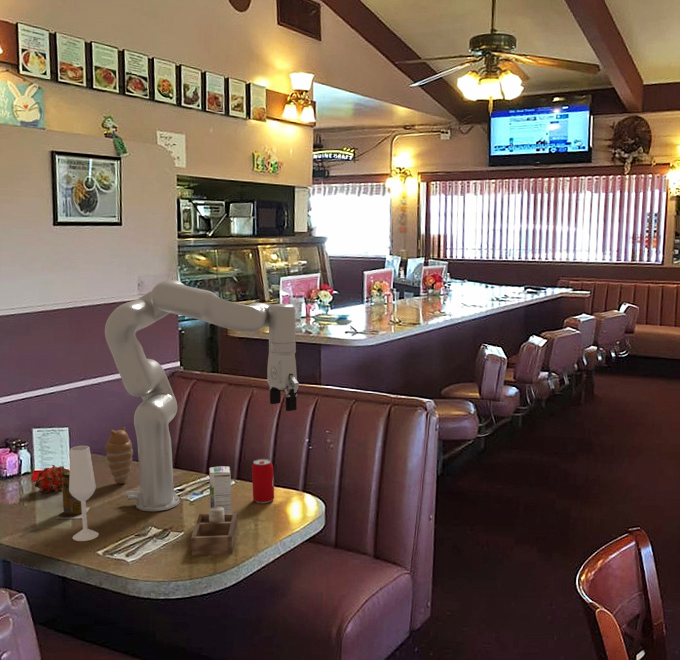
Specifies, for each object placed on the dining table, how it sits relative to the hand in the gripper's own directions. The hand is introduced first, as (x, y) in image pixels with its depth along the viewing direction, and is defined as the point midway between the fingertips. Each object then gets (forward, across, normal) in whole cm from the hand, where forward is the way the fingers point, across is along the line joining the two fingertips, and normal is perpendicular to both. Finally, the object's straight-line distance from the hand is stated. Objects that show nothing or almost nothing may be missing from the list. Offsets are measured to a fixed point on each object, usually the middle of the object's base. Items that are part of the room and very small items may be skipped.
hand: (283, 406), depth 225 cm
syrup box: (+30, +1, -20) cm, 36 cm away
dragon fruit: (+31, -51, -54) cm, 81 cm away
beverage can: (+30, -6, -4) cm, 30 cm away
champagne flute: (+30, -9, -54) cm, 63 cm away
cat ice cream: (+30, -46, -34) cm, 65 cm away
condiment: (+30, -28, -53) cm, 67 cm away
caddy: (+29, +14, -27) cm, 42 cm away
